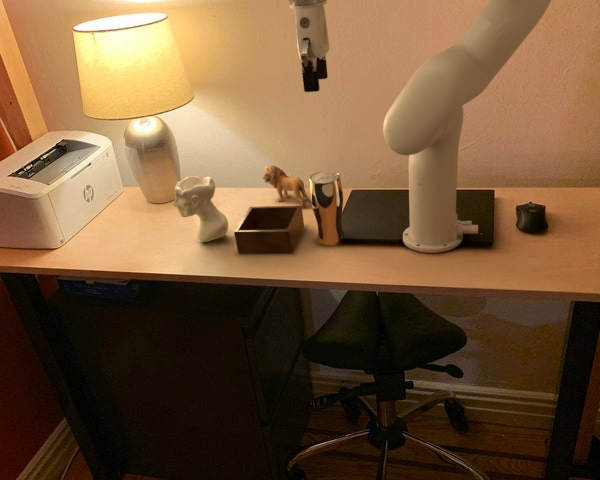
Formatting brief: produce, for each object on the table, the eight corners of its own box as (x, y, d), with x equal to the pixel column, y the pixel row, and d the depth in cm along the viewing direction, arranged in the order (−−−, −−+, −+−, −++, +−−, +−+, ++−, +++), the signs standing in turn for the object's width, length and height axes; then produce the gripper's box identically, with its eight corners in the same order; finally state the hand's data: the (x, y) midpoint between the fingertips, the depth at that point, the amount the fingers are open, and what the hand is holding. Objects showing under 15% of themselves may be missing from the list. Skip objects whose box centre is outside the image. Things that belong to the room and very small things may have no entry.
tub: (304, 226, 140) (301, 205, 136) (292, 253, 129) (289, 231, 126) (253, 227, 143) (249, 206, 140) (238, 253, 132) (233, 231, 129)
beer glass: (344, 247, 129) (338, 183, 121) (313, 247, 131) (305, 184, 122) (348, 232, 135) (343, 169, 126) (318, 232, 136) (311, 170, 128)
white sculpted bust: (235, 241, 137) (223, 181, 129) (189, 255, 135) (173, 194, 126) (224, 226, 145) (211, 168, 137) (179, 238, 142) (164, 180, 134)
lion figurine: (263, 201, 155) (257, 168, 150) (275, 193, 158) (270, 161, 153) (309, 209, 147) (305, 175, 142) (321, 201, 150) (317, 167, 145)
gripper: (317, 2, 110) (326, 95, 120) (332, -11, 124) (339, 73, 134) (279, 6, 112) (290, 97, 122) (298, -8, 126) (307, 75, 136)
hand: (316, 84), depth 128 cm, fingers open, 9 cm apart
